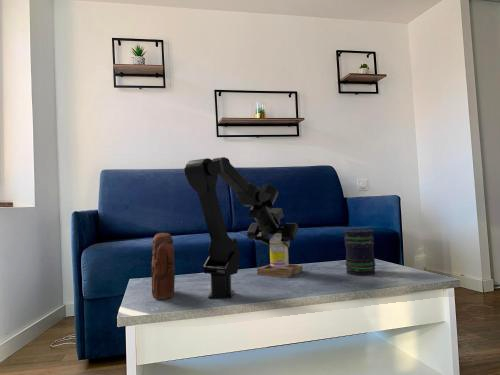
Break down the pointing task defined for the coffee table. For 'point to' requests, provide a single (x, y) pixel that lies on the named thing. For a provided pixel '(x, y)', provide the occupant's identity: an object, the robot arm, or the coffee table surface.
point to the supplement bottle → (278, 252)
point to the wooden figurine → (163, 266)
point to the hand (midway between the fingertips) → (280, 245)
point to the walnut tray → (279, 270)
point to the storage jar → (360, 252)
